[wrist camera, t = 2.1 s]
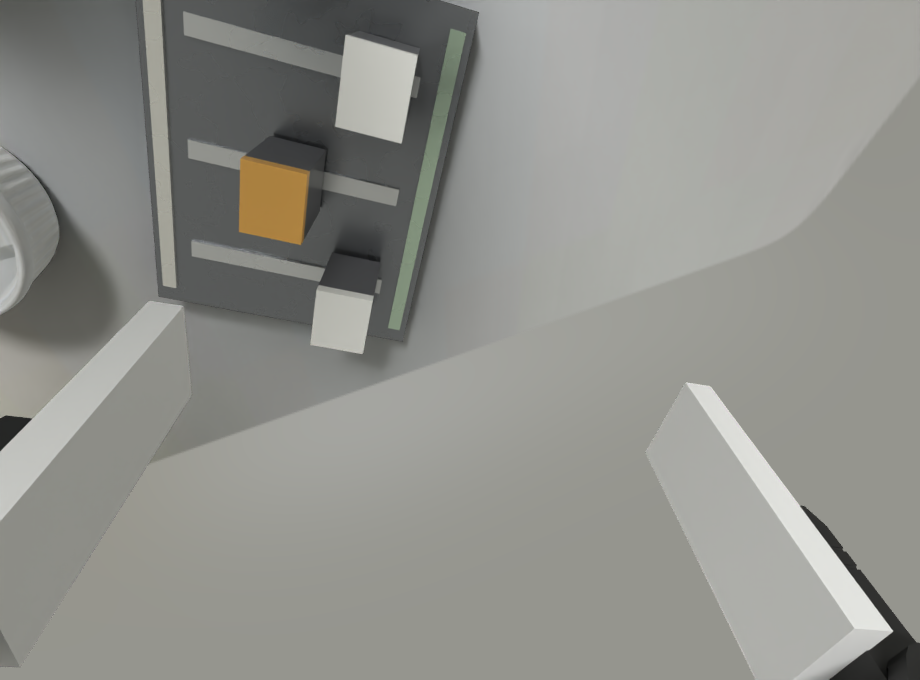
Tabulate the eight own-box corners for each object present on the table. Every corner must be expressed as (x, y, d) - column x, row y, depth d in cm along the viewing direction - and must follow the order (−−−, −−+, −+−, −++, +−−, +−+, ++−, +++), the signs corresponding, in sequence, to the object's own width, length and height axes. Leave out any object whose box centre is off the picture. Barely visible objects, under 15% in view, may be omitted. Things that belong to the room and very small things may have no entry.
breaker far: (325, 302, 33) (310, 344, 29) (331, 252, 31) (316, 290, 27) (371, 311, 33) (362, 354, 29) (380, 262, 31) (372, 301, 27)
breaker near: (350, 108, 26) (335, 126, 22) (360, 30, 25) (345, 35, 20) (406, 123, 27) (401, 143, 23) (419, 48, 25) (417, 56, 21)
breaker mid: (266, 200, 29) (238, 231, 25) (269, 135, 27) (240, 158, 23) (319, 211, 29) (301, 244, 25) (326, 149, 28) (307, 174, 23)
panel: (172, 282, 34) (157, 298, 32) (149, -89, 24) (125, -98, 22) (403, 326, 37) (402, 343, 35) (476, 12, 26) (479, 12, 25)
